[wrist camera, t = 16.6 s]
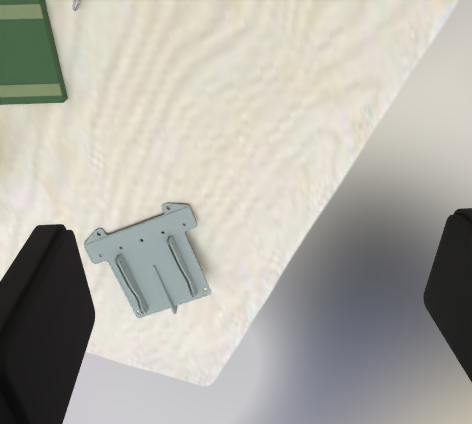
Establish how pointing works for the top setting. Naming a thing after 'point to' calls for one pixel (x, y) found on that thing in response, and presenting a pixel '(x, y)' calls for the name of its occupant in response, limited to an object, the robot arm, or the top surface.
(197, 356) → the top surface
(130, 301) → the metal bracket
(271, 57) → the top surface
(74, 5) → the spring
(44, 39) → the green rectangular slab
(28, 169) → the top surface
